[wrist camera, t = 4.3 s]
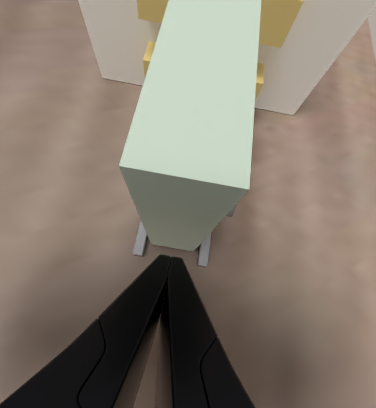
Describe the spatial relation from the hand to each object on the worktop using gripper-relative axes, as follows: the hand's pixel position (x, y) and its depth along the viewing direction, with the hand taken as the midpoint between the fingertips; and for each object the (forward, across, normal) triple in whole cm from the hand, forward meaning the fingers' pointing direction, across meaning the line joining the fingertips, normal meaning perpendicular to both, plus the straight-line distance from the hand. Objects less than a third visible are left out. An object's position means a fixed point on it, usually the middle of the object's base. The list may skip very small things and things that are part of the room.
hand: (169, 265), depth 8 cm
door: (+9, 0, +1) cm, 9 cm away
